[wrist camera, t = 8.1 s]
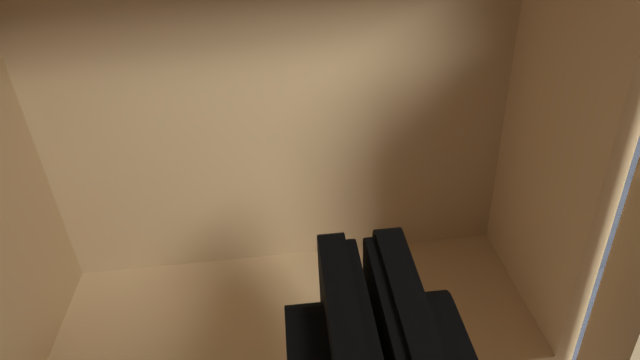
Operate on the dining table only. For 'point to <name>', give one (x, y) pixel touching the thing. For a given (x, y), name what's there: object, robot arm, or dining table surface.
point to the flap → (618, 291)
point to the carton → (304, 165)
